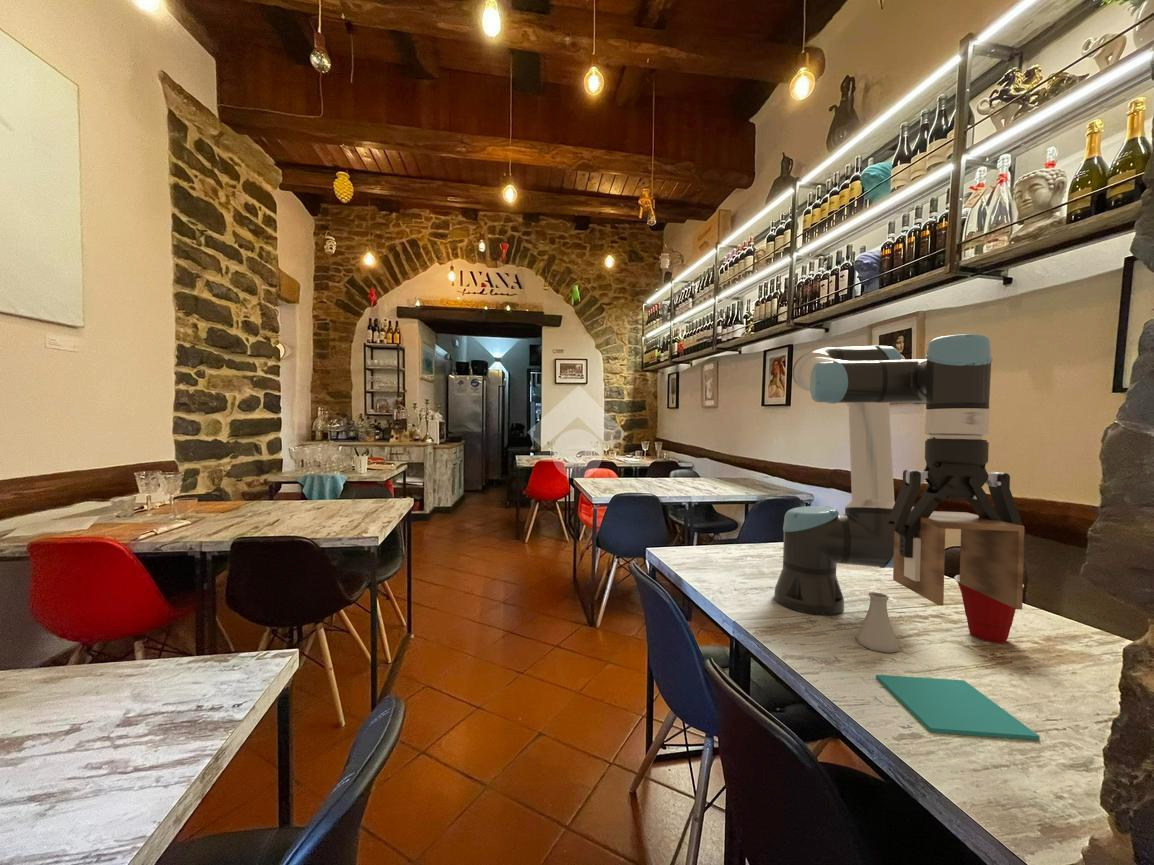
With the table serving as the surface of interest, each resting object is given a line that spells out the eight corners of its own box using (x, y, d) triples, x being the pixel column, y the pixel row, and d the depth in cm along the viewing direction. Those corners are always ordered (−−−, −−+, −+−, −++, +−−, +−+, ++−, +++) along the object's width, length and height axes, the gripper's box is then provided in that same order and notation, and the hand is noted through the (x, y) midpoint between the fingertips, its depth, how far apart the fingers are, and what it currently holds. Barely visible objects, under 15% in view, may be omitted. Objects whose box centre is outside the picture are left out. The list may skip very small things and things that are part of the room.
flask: (908, 654, 87) (910, 602, 87) (869, 653, 87) (871, 601, 87) (884, 637, 94) (885, 588, 94) (848, 636, 94) (849, 587, 94)
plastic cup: (952, 620, 103) (954, 567, 103) (1019, 635, 96) (1021, 578, 96) (952, 637, 94) (954, 579, 94) (1025, 654, 88) (1027, 592, 87)
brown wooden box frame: (893, 580, 77) (894, 509, 76) (964, 583, 75) (966, 512, 75) (938, 605, 66) (940, 523, 65) (1022, 609, 64) (1024, 526, 64)
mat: (875, 678, 78) (875, 674, 78) (964, 683, 77) (964, 680, 77) (930, 732, 65) (930, 727, 65) (1039, 740, 63) (1039, 736, 63)
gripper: (888, 436, 68) (885, 584, 68) (1063, 439, 65) (1059, 593, 66) (862, 435, 75) (859, 569, 75) (1018, 438, 73) (1014, 576, 73)
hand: (952, 580), depth 70 cm, fingers closed on brown wooden box frame, 11 cm apart
